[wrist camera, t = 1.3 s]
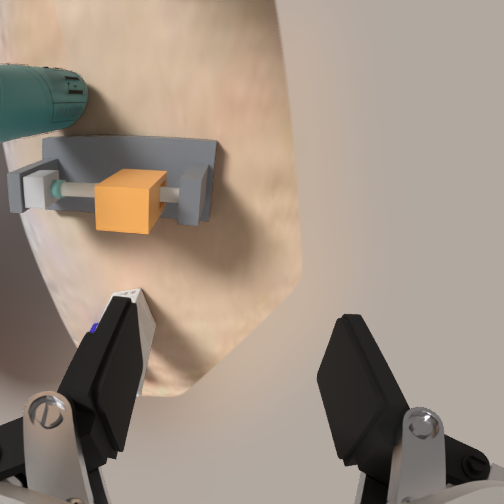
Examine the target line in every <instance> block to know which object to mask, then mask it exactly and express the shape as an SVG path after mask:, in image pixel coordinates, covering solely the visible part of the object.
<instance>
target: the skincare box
mask: <svg viewBox="0 0 504 504" xmlns="http://www.w3.org/2000/svg"><path fill="white" fill-rule="evenodd" d="M113 296H121V297H129V298H131V300H132V303H136V304H137V310H138V321H139V331H140V340H141V348H142V356H143V371H142V375H141V379H140V383H139V387H138V391H137V395H136V397H140V396H141V393H142V388H143V383H144V378H145V373H146V368H147V364H148V359H149V355H150V350H151V346H152V341H153V337H154V333H155V329H156V323H155V321H154V319H153V316H152V314H151V312H150V309H149V307H148V305H147V302H146V300H145V297H144V295H143V292H142V290H141V288H138V289H130V290H124V291H119V292H114V293H113V294H112V296H111V298H110V300H109V302H108V304H107V306H108V305H109V303H110V301H111V299H112V297H113ZM107 306H106V308H107ZM106 308H105V310H106ZM105 310H104V312H105ZM104 312H103V314H104ZM103 314H102V316H103ZM102 316H101V318H102ZM100 320H101V319H100ZM99 322H100V321H99ZM98 324H99V323H98ZM97 326H98V325H97ZM96 328H97V327H96ZM95 330H96V329H95Z"/></svg>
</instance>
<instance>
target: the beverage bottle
mask: <svg viewBox="0 0 504 504" xmlns="http://www.w3.org/2000/svg"><path fill="white" fill-rule="evenodd" d="M2 64H3V63H2ZM17 64H18V63H17ZM20 65H22V64H19V65H12V64H11V65H10V64H8V65H0V143H2V142H6V141H10V140H13V139H18V138H21V137H27V136H32V135H36V134H37V136H38V134H39V135H40V133H41V134H42V133H46V134H48V132H49V131H51V133H52V131H54V130H59V129H64V128H67V127H69V126H70V125H72V124H73V123H74V122H76V121H77V120H78V119H79V118H80V116H81V115H82V113H83V112H84V109H85V107H86V104H87V99H88V91H87V86H86V84H85V82H84V80H83V79H82V78H81V77H80V76H79V75H78V74H76V72H75V73H74V71H73V72H72V70H71V71H68V70H66V71H65V70H64V69H62V68H59V70H57V69H58V68H57V69H52V68H49V67H44V68H43V67H42V68H41V67H35V66H34V67H31V66H29V65H28V66H20ZM53 68H54V67H53ZM60 69H62V70H60ZM55 132H56V131H55ZM24 139H25V138H24Z"/></svg>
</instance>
